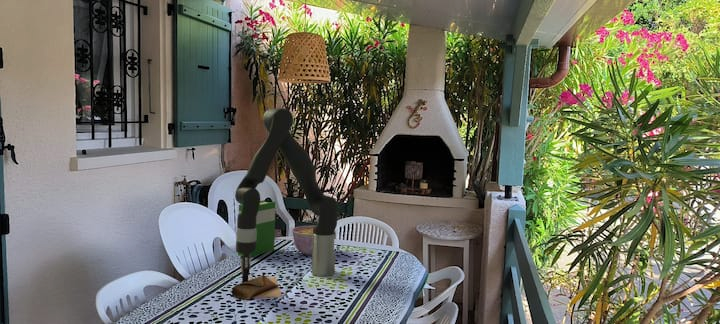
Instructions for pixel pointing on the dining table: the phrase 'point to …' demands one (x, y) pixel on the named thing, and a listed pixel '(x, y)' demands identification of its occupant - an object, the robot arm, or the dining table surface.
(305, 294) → the dining table surface
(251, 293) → the sunglasses case
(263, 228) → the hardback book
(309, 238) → the bowl of food
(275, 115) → the robot arm
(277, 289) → the mat
